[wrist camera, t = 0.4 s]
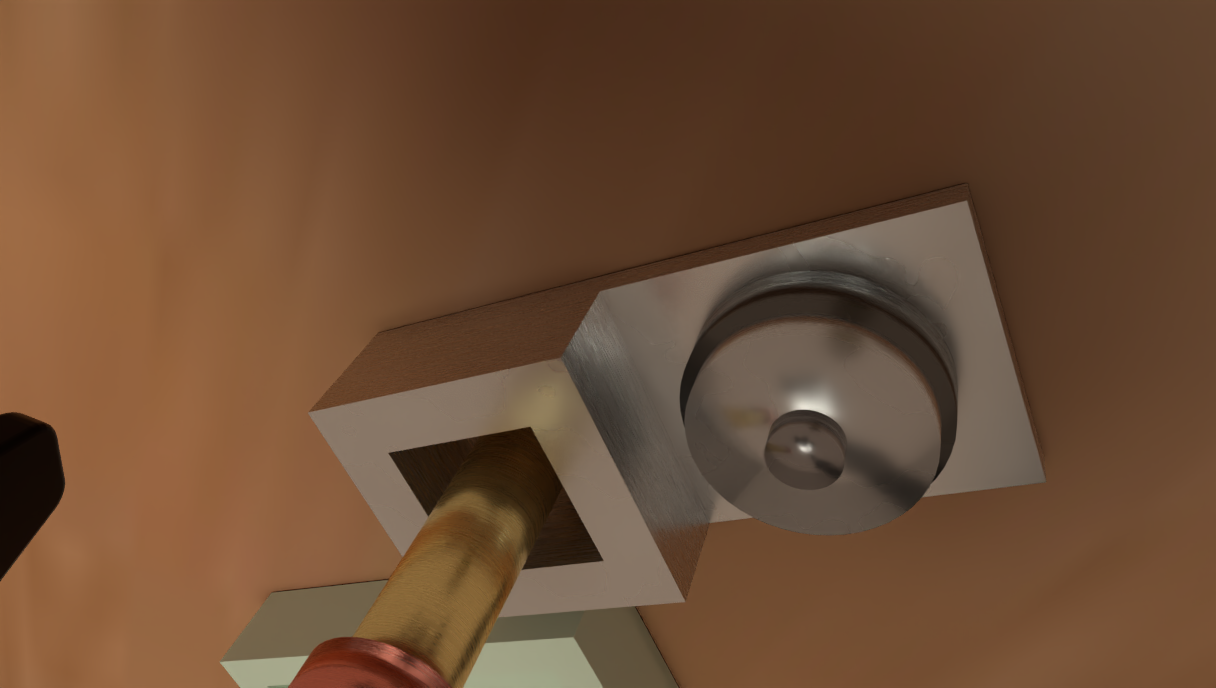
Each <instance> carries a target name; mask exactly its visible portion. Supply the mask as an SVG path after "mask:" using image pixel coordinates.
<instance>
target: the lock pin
mask: <svg viewBox="0 0 1216 688" xmlns="http://www.w3.org/2000/svg"><path fill="white" fill-rule="evenodd" d="M562 488H563V485H562V483H561V481H560V480H559V478H558V476H557V474H556V472H555V470H554V469H553V467H552V465H551V463H550V461H549V459H548V458H547V456H546V454H545V452H544V450H543V448H542V446H541V445H540V443H539V441H538V439H537V437H536V435H535V434H534V432H533V430H532V428H531V427H526V428H521V429H515V430H510V431H504V432H499V433H493V434H488V435H483V436H480V437H479V438H478V440H477V441H476V443H475V444H474V446H473V448H472V449H471V451H470V452H469V454H468V455H467V457H466V459H465V460H464V462H463V463H462V465H461V466H460V468H459V470H458V471H457V473H456V474H455V476H454V478H453V479H452V481H451V482H450V484H449V485H448V487H447V489H446V490H445V492H444V493H443V495H442V496H441V498H440V500H439V501H438V503H437V504H436V506H435V507H434V509H433V511H432V512H431V514H430V515H429V517H428V518H427V520H426V522H425V523H424V525H423V526H422V528H421V529H420V531H419V533H418V534H417V536H416V537H415V539H414V540H413V542H412V544H411V545H410V547H409V548H408V550H407V551H406V553H405V555H404V556H403V558H402V559H401V561H400V562H399V564H398V566H397V567H396V569H395V570H394V572H393V574H392V575H391V577H390V578H389V580H388V581H387V583H386V585H385V586H384V588H383V589H382V591H381V592H380V594H379V596H378V597H377V599H376V600H375V602H374V603H373V605H372V607H371V608H370V610H369V611H368V613H367V614H366V616H365V618H364V619H363V621H362V622H361V624H360V625H359V627H358V629H357V630H356V632H355V633H354V635H353V636H352V637H339V638H333V639H330V640H326V641H324V642H322V643H320V644H319V645H318V646H317V647H315V648H314V649H313V651H312V652H311V653H310V655H309V656H308V658H307V659H306V661H305V662H304V664H303V665H302V667H301V668H300V670H299V671H298V673H297V674H296V676H295V677H294V679H293V680H292V682H291V683H290V685H289V686H288V688H463V687H464V685H465V683H466V681H467V679H468V677H469V675H470V673H471V671H472V669H473V667H474V665H475V663H476V661H477V659H478V657H479V655H480V653H481V651H482V649H483V647H484V645H485V642H486V640H487V638H488V636H489V634H490V632H491V630H492V628H493V626H494V624H495V622H496V620H497V618H498V616H499V614H500V612H501V610H502V608H503V606H504V604H505V602H506V600H507V598H508V596H509V594H510V592H511V590H512V588H513V586H514V584H515V582H516V580H517V578H518V576H519V574H520V572H521V570H522V568H523V566H524V564H525V562H526V560H527V558H528V556H529V554H530V552H531V550H532V548H533V546H534V544H535V542H536V540H537V538H538V536H539V534H540V532H541V530H542V528H543V526H544V524H545V522H546V520H547V518H548V516H549V514H550V512H551V510H552V508H553V506H554V504H555V502H556V500H557V498H558V496H559V494H560V492H561V490H562Z"/></svg>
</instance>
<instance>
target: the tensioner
mask: <svg viewBox="0 0 1216 688" xmlns="http://www.w3.org/2000/svg"><path fill="white" fill-rule="evenodd" d="M308 414H309V415H310V417H311V418H312V420H313V421H314V423H315V424H316V426H317V427H318V429H319V430H320V432H321V433H322V435H323V436H324V438H325V440H326V441H327V443H328V444H329V446H330V447H331V449H332V450H333V452H334V453H335V455H336V456H337V458H338V459H339V461H340V462H341V464H342V465H343V467H344V468H345V470H346V471H347V473H348V474H349V476H350V478H351V479H352V481H353V482H354V484H355V485H356V487H357V488H358V490H359V491H360V493H361V494H362V496H363V497H364V499H365V500H366V502H367V503H368V505H369V506H370V508H371V509H372V511H373V512H374V514H375V516H376V517H377V519H378V520H379V522H380V523H381V525H382V526H383V528H384V529H385V531H386V532H387V534H388V535H389V537H390V538H391V540H392V541H393V543H394V544H395V546H396V547H397V549H398V551H399V552H400V554H401V555H402V557H403V556H404V555H405V553H406V551H407V550H408V548H409V547H410V545H411V544H412V542H413V540H414V539H415V537H416V536H417V534H418V533H419V531H420V529H421V528H422V526H423V525H424V523H425V522H426V520H427V518H428V517H429V515H430V514H431V512H432V511H433V509H434V507H435V506H436V504H437V503H438V501H439V500H440V498H441V496H442V495H443V493H444V492H445V490H446V489H447V487H448V485H449V484H450V482H451V481H452V479H453V478H454V476H455V474H456V473H457V471H458V470H459V468H460V466H461V465H462V463H463V462H464V460H465V459H466V457H467V455H468V454H469V452H470V451H471V449H472V448H473V446H474V444H475V443H476V441H477V440H478V438H479V437H480V436H483V435H488V434H493V433H499V432H504V431H510V430H515V429H521V428H526V427H531V428H532V430H533V432H534V434H535V435H536V437H537V439H538V441H539V443H540V445H541V446H542V448H543V450H544V452H545V454H546V456H547V458H548V459H549V461H550V463H551V465H552V467H553V469H554V470H555V472H556V474H557V476H558V478H559V480H560V481H561V483H562V485H563V488H562V490H561V492H560V494H559V496H558V498H557V500H556V502H555V504H554V506H553V508H552V510H551V512H550V514H549V516H548V518H547V520H546V522H545V524H544V526H543V528H542V530H541V532H540V534H539V536H538V538H537V540H536V542H535V544H534V546H533V548H532V550H531V552H530V554H529V556H528V558H527V560H526V562H525V564H524V566H523V568H522V570H521V572H520V574H519V576H518V578H517V580H516V582H515V584H514V586H513V588H512V590H511V592H510V594H509V596H508V598H507V600H506V602H505V604H504V606H503V608H502V610H501V612H500V614H499V616H498V618H499V617H511V616H523V615H535V614H547V613H559V612H571V611H583V610H595V609H607V608H619V607H631V606H643V605H655V604H667V603H679V602H686V599H687V596H688V592H689V589H690V586H691V583H692V579H693V576H694V573H695V570H696V566H697V563H698V560H699V557H700V553H701V550H702V547H703V544H704V540H705V537H706V534H707V531H708V528H709V524H710V523H713V522H721V521H730V520H738V519H746V518H755V519H758V520H760V521H762V522H765V523H767V524H769V525H772V526H775V527H778V528H781V529H785V530H789V531H794V532H798V533H805V534H813V535H844V534H851V533H857V532H862V531H866V530H869V529H873V528H876V527H879V526H881V525H883V524H886V523H888V522H890V521H892V520H894V519H896V518H897V517H899V516H901V515H902V514H904V513H905V512H906V511H908V510H909V509H910V508H912V507H913V506H914V505H915V504H916V503H917V502H918V501H919V500H920V499H921V498H922V497H928V496H936V495H945V494H953V493H961V492H969V491H978V490H986V489H994V488H1003V487H1011V486H1019V485H1027V484H1036V483H1044V482H1046V473H1045V460H1044V456H1043V452H1042V449H1041V445H1040V442H1039V438H1038V434H1037V431H1036V427H1035V424H1034V420H1033V416H1032V413H1031V409H1030V406H1029V402H1028V398H1027V395H1026V391H1025V388H1024V384H1023V381H1022V377H1021V373H1020V370H1019V366H1018V363H1017V359H1016V355H1015V352H1014V348H1013V345H1012V341H1011V338H1010V334H1009V330H1008V327H1007V323H1006V320H1005V316H1004V312H1003V309H1002V305H1001V302H1000V298H999V295H998V291H997V287H996V284H995V280H994V277H993V273H992V269H991V266H990V262H989V259H988V255H987V252H986V248H985V244H984V241H983V237H982V234H981V230H980V226H979V223H978V219H977V216H976V212H975V209H974V205H973V201H972V198H971V194H970V191H969V187H968V183H965V184H961V185H957V186H954V187H950V188H946V189H942V190H938V191H934V192H930V193H926V194H922V195H918V196H914V197H910V198H906V199H903V200H899V201H895V202H891V203H887V204H883V205H879V206H875V207H871V208H867V209H863V210H859V211H855V212H852V213H848V214H844V215H840V216H836V217H832V218H828V219H824V220H820V221H816V222H812V223H808V224H804V225H801V226H797V227H793V228H789V229H785V230H781V231H777V232H773V233H769V234H765V235H761V236H757V237H753V238H750V239H746V240H742V241H738V242H734V243H730V244H726V245H722V246H718V247H714V248H710V249H706V250H702V251H699V252H695V253H691V254H687V255H683V256H679V257H675V258H671V259H667V260H663V261H659V262H655V263H651V264H648V265H644V266H640V267H636V268H632V269H628V270H624V271H620V272H616V273H612V274H608V275H604V276H600V277H597V278H593V279H589V280H585V281H581V282H577V283H573V284H569V285H565V286H561V287H557V288H553V289H549V290H546V291H542V292H538V293H534V294H530V295H526V296H522V297H518V298H514V299H510V300H506V301H502V302H498V303H495V304H491V305H487V306H483V307H479V308H475V309H471V310H467V311H463V312H459V313H455V314H451V315H447V316H444V317H440V318H436V319H432V320H428V321H424V322H420V323H416V324H412V325H408V326H404V327H400V328H396V329H393V330H389V331H385V332H381V333H378V334H377V335H376V336H375V337H374V338H373V339H372V340H371V342H370V343H369V344H368V345H367V346H366V347H365V348H364V349H363V351H362V352H361V353H360V354H359V355H358V356H357V357H356V359H355V360H354V361H353V362H352V363H351V364H350V365H349V366H348V368H347V369H346V370H345V371H344V372H343V373H342V374H341V376H340V377H339V378H338V379H337V380H336V381H335V382H334V383H333V385H332V386H331V387H330V388H329V389H328V390H327V391H326V393H325V394H324V395H323V396H322V397H321V398H320V399H319V401H318V402H317V403H316V404H315V405H314V406H313V407H312V408H311V410H310V411H309V412H308Z"/></svg>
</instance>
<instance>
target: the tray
mask: <svg viewBox="0 0 1216 688" xmlns="http://www.w3.org/2000/svg"><path fill="white" fill-rule="evenodd" d="M387 581H388V580H382V581H373V582H364V583H355V584H346V585H337V586H328V587H319V588H310V589H300V590H291V591H282V592H273V593H271V594H270V596H269V597H268V598H267V599H266V601H265V602H264V603H263V605H262V606H261V607H260V609H259V610H258V611H257V613H256V614H255V615H254V617H253V618H252V619H251V621H250V622H249V623H248V625H247V626H246V627H245V629H244V630H243V631H242V633H241V634H240V635H239V637H238V638H237V639H236V641H235V642H234V643H233V645H232V646H231V647H230V649H229V650H228V651H227V653H226V654H225V655H224V657H223V658H222V659H221V661H220V663H221V664H222V665H223V667H224V668H225V669H226V670H227V672H228V673H229V674H230V675H231V677H232V678H233V679H234V680H235V682H236V683H237V684H238V685H239V686H240V688H288V686H289V685H290V683H291V682H292V680H293V679H294V677H295V676H296V674H297V673H298V671H299V670H300V668H301V667H302V665H303V664H304V662H305V661H306V659H307V658H308V656H309V655H310V653H311V652H312V651H313V649H314V648H315V647H317V646H318V645H319V644H320V643H322V642H324V641H326V640H330V639H333V638H339V637H352V636H353V635H354V633H355V632H356V630H357V629H358V627H359V625H360V624H361V622H362V621H363V619H364V618H365V616H366V614H367V613H368V611H369V610H370V608H371V607H372V605H373V603H374V602H375V600H376V599H377V597H378V596H379V594H380V592H381V591H382V589H383V588H384V586H385V585H386V583H387ZM463 688H679V687H678V686H677V684H676V682H675V680H674V678H673V676H672V674H671V673H670V671H669V669H668V667H667V665H666V663H665V662H664V660H663V658H662V656H661V654H660V652H659V650H658V649H657V647H656V645H655V643H654V641H653V639H652V638H651V636H650V634H649V632H648V630H647V628H646V626H645V625H644V623H643V621H642V619H641V617H640V615H639V614H638V612H637V610H636V608H635V606H631V607H619V608H607V609H595V610H583V611H571V612H559V613H547V614H535V615H523V616H511V617H499V618H497V620H496V622H495V624H494V626H493V628H492V630H491V632H490V634H489V636H488V638H487V640H486V642H485V645H484V647H483V649H482V651H481V653H480V655H479V657H478V659H477V661H476V663H475V665H474V667H473V669H472V671H471V673H470V675H469V677H468V679H467V681H466V683H465V685H464V687H463Z"/></svg>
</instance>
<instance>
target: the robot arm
mask: <svg viewBox="0 0 1216 688" xmlns="http://www.w3.org/2000/svg"><path fill="white" fill-rule="evenodd" d="M64 488H65V477H64V472H63V466H62V461H61V456H60V450H59V445H58V439H57V435H56V432H55V430H54V429H53V428H52V427H51V426H50V425H49V424H47V423H45V422H42V421H40V420H37V419H35V418H32V417H29V416H27V415H24V414H21V413H16V412H11V413H5V414H1V415H0V581H1V580H2V578H3V577H4V576H5V574H6V573H7V572H8V570H9V569H10V568H11V566H12V565H13V564H14V562H15V561H16V560H17V558H18V557H19V556H20V555H21V553H22V552H23V551H24V549H25V548H26V547H27V545H28V544H29V543H30V541H31V540H32V539H33V537H34V536H35V535H36V533H37V532H38V531H39V529H40V528H41V527H42V525H43V524H44V523H45V522H46V520H47V519H48V518H49V516H50V515H51V514H52V512H53V511H54V510H55V508H56V507H57V505H58V504H59V502H60V500H61V498H62V495H63V492H64Z"/></svg>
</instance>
